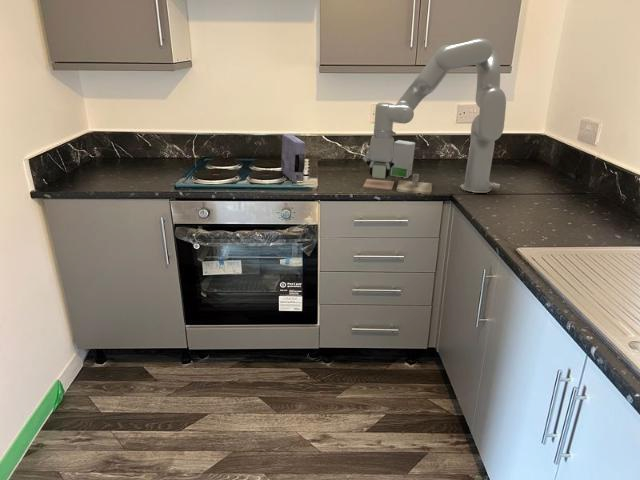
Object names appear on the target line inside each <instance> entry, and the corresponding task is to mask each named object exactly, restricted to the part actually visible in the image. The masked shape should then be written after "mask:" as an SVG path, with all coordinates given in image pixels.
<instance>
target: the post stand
mask: <svg viewBox="0 0 640 480" xmlns="http://www.w3.org/2000/svg"><path fill="white" fill-rule="evenodd" d="M419 175H420V174H419V173H412V178H411V179H412V180H411V181H410V180H399V181H398V183H397V185H396V186H397V187H396V190H395V191H396V192H400V193H408V194H409V193H410V194H418V193H421V195H431V196H432V188H433V183H432V182H422V181H421V182H420V181H419Z"/></svg>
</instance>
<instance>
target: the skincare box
mask: <svg viewBox="0 0 640 480" xmlns="http://www.w3.org/2000/svg"><path fill="white" fill-rule="evenodd" d="M415 149H416V142H414V141H408V140H401V139H398V140H396V141H394V155H395V156H396V158H397V159H398V160H399V161H398V163H396V164H395V165H394V166H392V167H391V168H390V176H391V177H395V178H401V177H403V178H402V179H406V178H407V179H408V178H410V177H411V176H412V170H413V165H414V163H413V162H414V156H415ZM392 162H394V159H393V160H392V161H391V163H392ZM410 175H411V176H410ZM409 176H410V177H409Z"/></svg>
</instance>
